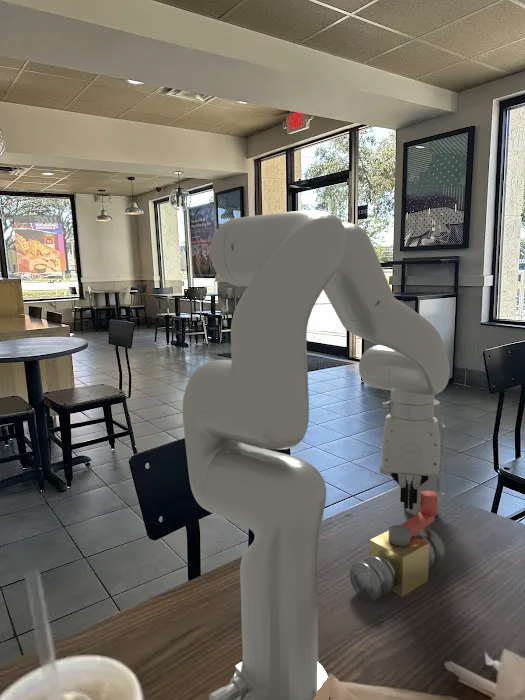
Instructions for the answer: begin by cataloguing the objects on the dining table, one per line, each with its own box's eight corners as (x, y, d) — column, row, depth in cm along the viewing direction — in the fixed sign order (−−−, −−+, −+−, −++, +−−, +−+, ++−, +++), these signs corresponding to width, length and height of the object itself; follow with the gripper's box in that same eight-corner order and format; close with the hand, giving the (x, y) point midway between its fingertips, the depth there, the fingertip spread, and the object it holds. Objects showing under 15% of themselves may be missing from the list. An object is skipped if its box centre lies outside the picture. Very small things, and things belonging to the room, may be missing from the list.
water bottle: (399, 515, 110) (402, 403, 106) (407, 500, 117) (409, 395, 113) (443, 524, 106) (448, 408, 102) (449, 508, 113) (453, 399, 109)
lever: (403, 548, 84) (403, 520, 84) (384, 540, 87) (385, 513, 86) (441, 520, 93) (442, 494, 93) (423, 513, 96) (424, 488, 95)
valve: (379, 610, 80) (380, 569, 79) (347, 589, 85) (347, 550, 84) (446, 569, 90) (448, 532, 89) (414, 552, 96) (415, 517, 95)
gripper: (368, 412, 90) (366, 510, 93) (457, 418, 86) (452, 520, 89) (370, 402, 97) (368, 493, 100) (453, 407, 93) (449, 502, 96)
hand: (408, 505), depth 94 cm, fingers closed
